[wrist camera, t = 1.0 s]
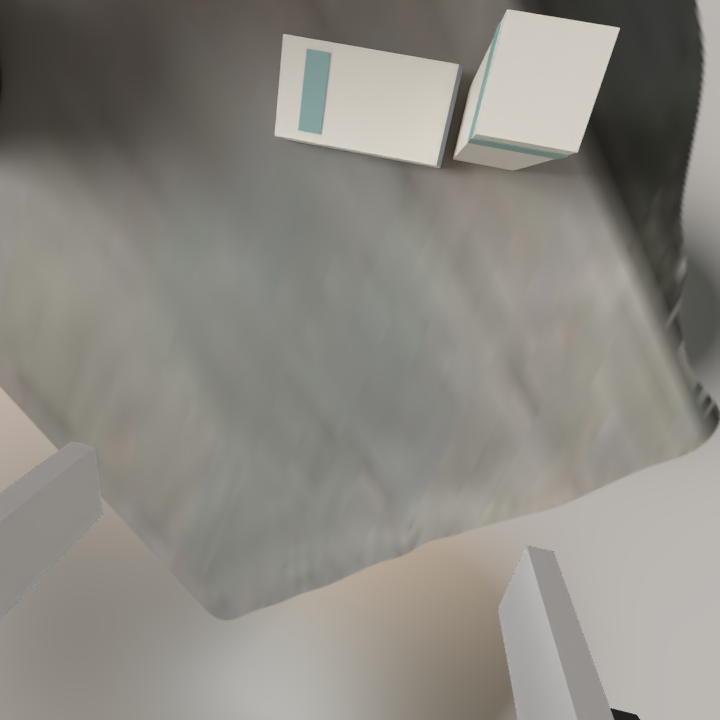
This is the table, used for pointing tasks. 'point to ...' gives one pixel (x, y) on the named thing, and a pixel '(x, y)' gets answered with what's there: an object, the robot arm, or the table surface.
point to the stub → (534, 91)
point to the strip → (365, 100)
